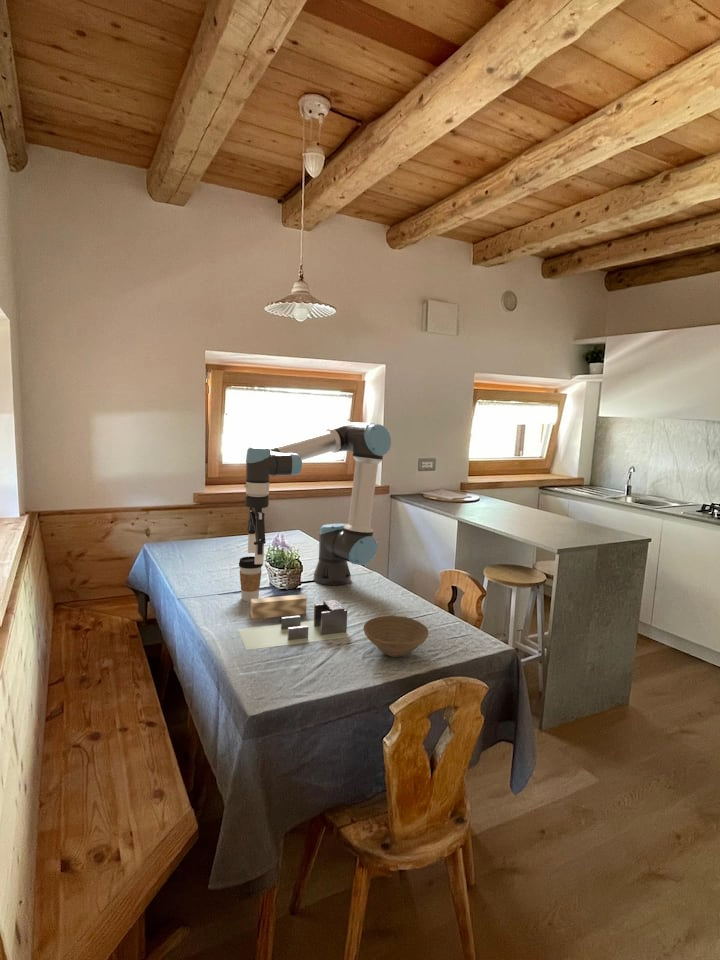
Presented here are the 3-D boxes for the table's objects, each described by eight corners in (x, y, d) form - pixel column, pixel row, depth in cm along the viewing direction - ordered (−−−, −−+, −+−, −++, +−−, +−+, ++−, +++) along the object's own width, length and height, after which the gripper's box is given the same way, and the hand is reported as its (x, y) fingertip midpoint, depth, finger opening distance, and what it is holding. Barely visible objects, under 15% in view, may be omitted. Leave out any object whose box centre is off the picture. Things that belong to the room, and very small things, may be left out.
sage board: (334, 619, 176) (334, 618, 176) (351, 637, 162) (351, 636, 162) (237, 630, 164) (237, 629, 163) (246, 651, 150) (246, 650, 150)
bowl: (408, 676, 140) (410, 647, 139) (350, 656, 150) (351, 629, 149) (436, 651, 156) (438, 625, 155) (382, 635, 165) (383, 610, 164)
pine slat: (302, 611, 182) (303, 594, 182) (306, 615, 179) (306, 598, 178) (250, 616, 176) (250, 598, 175) (252, 620, 172) (252, 603, 171)
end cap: (321, 635, 162) (322, 610, 161) (313, 625, 169) (314, 601, 168) (346, 632, 165) (347, 608, 164) (337, 622, 172) (338, 599, 171)
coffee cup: (256, 603, 186) (257, 562, 184) (234, 601, 188) (234, 559, 186) (265, 595, 194) (266, 556, 193) (243, 593, 196) (244, 553, 194)
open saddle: (299, 625, 168) (299, 615, 168) (308, 637, 160) (308, 626, 159) (280, 627, 166) (281, 617, 165) (288, 640, 157) (288, 629, 157)
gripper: (240, 489, 183) (238, 548, 186) (251, 501, 160) (249, 569, 163) (261, 489, 186) (260, 548, 188) (276, 501, 163) (274, 568, 165)
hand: (255, 558), depth 176 cm, fingers open, 13 cm apart
